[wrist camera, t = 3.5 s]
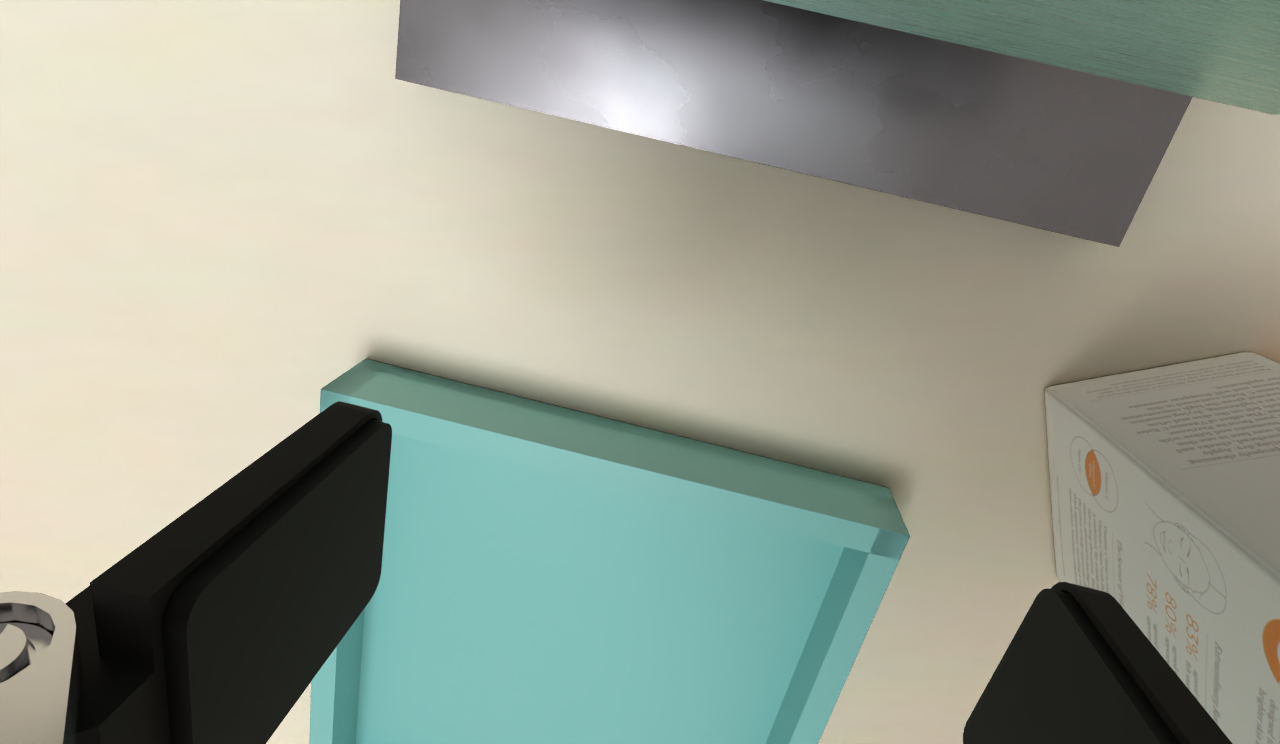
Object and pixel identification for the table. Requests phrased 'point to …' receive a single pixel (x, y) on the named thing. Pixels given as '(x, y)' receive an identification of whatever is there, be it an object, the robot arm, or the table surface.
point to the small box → (1181, 520)
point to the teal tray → (596, 581)
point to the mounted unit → (877, 86)
